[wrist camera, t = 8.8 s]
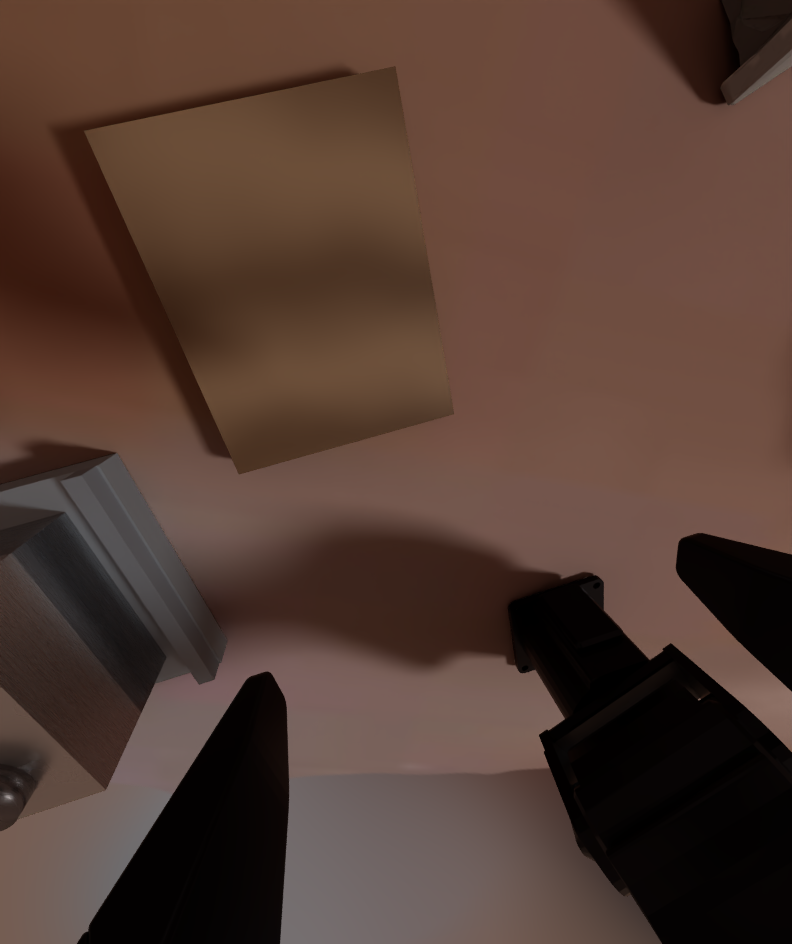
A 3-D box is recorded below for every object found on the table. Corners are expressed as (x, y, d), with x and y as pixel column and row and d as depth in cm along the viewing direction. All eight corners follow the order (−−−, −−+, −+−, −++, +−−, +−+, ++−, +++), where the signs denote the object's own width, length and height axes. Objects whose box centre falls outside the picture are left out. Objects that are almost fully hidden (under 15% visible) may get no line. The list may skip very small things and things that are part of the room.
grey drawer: (65, 512, 16) (-101, 638, 10) (166, 657, 19) (93, 816, 13) (-72, 549, 15) (-339, 707, 9) (58, 690, 19) (-69, 870, 13)
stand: (444, 406, 19) (454, 414, 17) (245, 462, 18) (238, 474, 16) (388, 91, 14) (395, 66, 12) (109, 150, 13) (83, 131, 11)
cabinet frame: (227, 640, 22) (216, 679, 19) (50, 696, 21) (16, 742, 19) (116, 452, 17) (84, 474, 14) (-122, 517, 16) (-195, 550, 14)
